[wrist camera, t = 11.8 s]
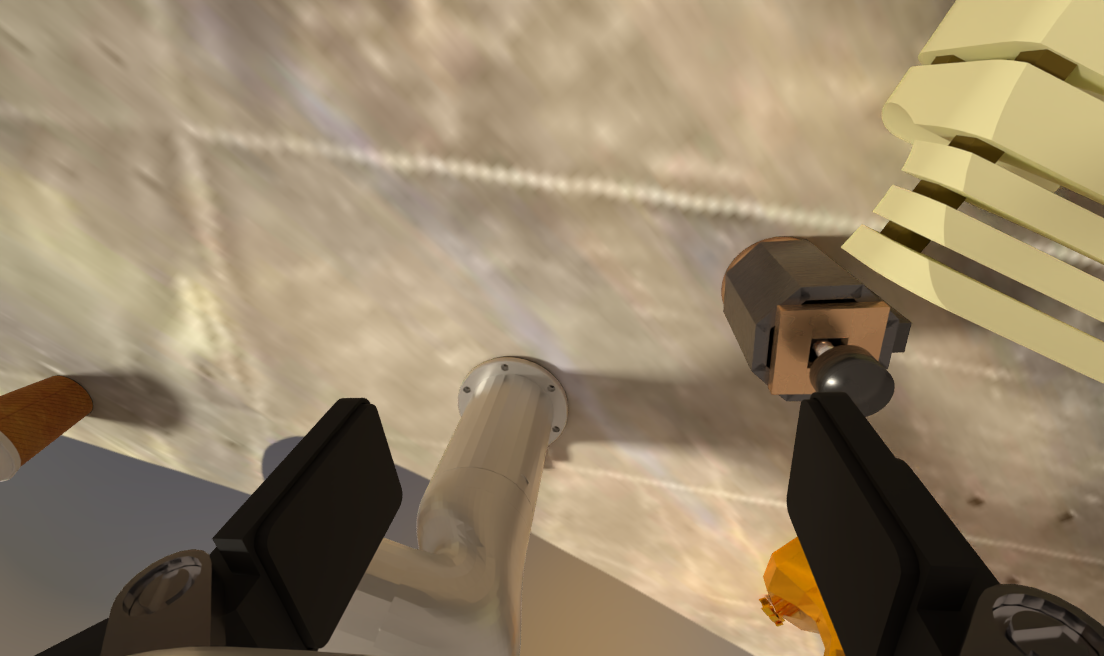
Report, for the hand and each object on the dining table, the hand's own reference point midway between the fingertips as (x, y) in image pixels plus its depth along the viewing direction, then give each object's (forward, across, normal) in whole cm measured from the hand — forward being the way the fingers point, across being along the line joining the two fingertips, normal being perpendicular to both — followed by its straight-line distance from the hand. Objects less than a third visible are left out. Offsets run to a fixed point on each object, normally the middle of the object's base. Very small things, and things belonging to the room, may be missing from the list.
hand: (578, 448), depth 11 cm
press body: (+36, -15, +11) cm, 41 cm away
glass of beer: (+36, +72, +22) cm, 84 cm away
